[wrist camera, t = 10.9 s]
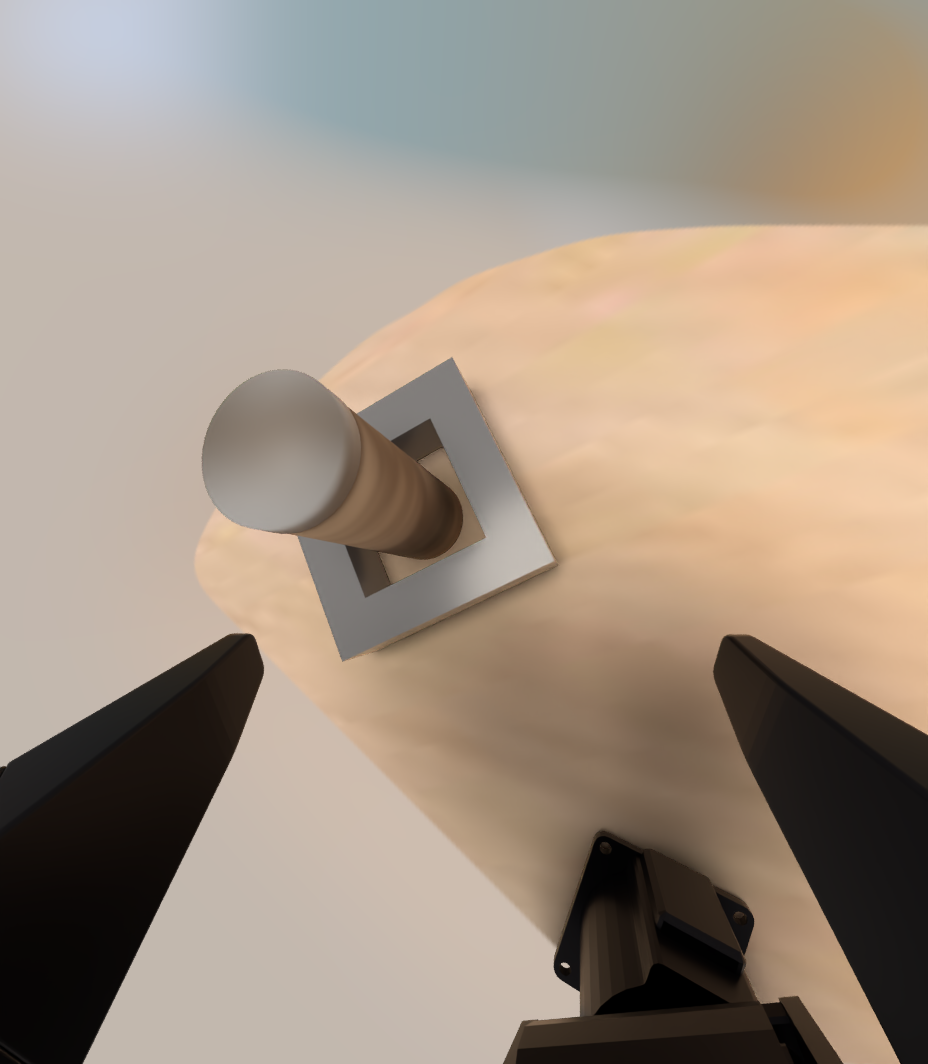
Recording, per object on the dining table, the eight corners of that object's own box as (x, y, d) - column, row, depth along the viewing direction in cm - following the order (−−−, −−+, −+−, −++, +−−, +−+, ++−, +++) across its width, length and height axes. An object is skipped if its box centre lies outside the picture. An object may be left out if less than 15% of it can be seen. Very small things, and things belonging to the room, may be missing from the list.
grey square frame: (558, 565, 22) (554, 560, 18) (375, 651, 24) (342, 661, 20) (469, 389, 24) (452, 357, 21) (311, 480, 26) (271, 464, 23)
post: (470, 550, 23) (353, 506, 11) (392, 568, 24) (207, 545, 12) (455, 469, 24) (330, 348, 12) (380, 490, 25) (196, 396, 13)
